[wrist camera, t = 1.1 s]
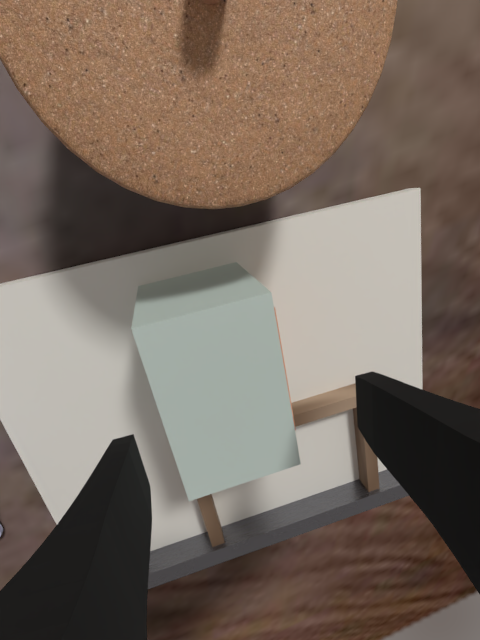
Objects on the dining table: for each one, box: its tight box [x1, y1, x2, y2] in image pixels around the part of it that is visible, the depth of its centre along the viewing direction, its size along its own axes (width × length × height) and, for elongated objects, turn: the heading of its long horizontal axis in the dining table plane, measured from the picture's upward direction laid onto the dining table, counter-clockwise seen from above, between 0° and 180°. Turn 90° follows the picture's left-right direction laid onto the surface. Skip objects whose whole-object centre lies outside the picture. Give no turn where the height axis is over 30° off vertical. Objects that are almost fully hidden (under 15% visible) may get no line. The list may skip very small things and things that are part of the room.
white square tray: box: [0, 188, 422, 589], centre depth 21 cm, size 24×20×2 cm
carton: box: [131, 262, 301, 501], centre depth 17 cm, size 5×8×6 cm, turn 12°
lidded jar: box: [0, 0, 397, 209], centre depth 12 cm, size 11×11×9 cm
